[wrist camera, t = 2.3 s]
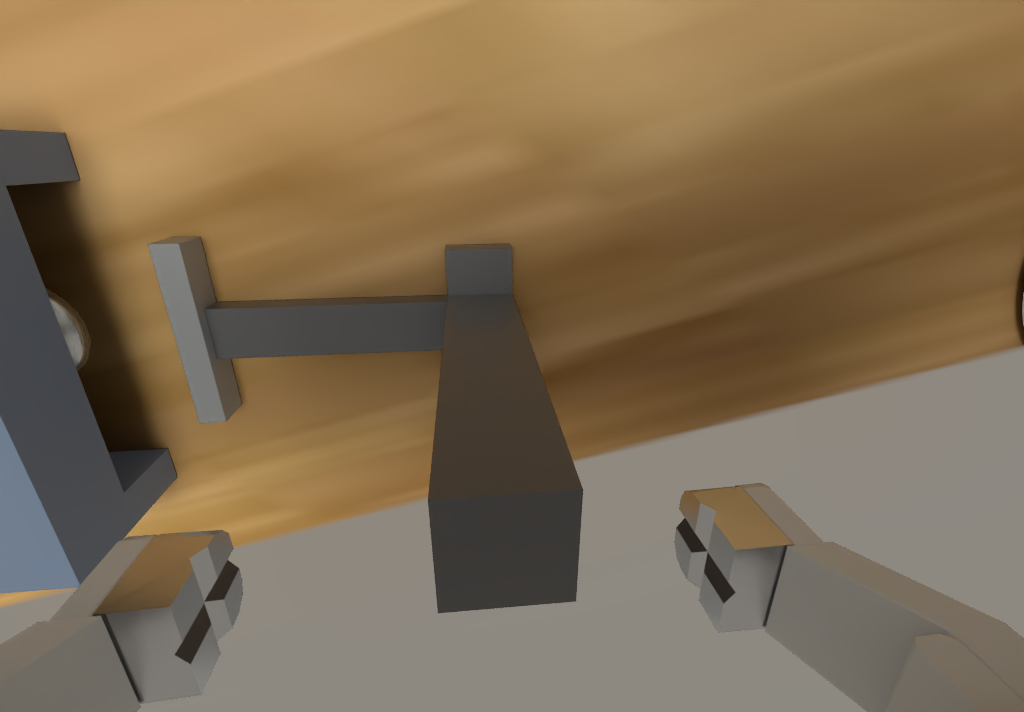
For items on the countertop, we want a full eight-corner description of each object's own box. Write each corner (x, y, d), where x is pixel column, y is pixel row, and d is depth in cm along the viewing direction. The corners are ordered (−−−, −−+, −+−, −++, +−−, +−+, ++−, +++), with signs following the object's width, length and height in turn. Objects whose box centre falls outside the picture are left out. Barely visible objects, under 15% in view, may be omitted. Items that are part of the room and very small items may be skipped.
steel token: (76, 278, 18) (56, 284, 18) (110, 373, 20) (93, 384, 19) (-39, 280, 18) (-66, 287, 17) (4, 378, 20) (-18, 388, 19)
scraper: (509, 230, 19) (590, 362, 7) (510, 390, 22) (570, 682, 10) (171, 237, 18) (-405, 406, 6) (217, 405, 21) (-118, 752, 9)
